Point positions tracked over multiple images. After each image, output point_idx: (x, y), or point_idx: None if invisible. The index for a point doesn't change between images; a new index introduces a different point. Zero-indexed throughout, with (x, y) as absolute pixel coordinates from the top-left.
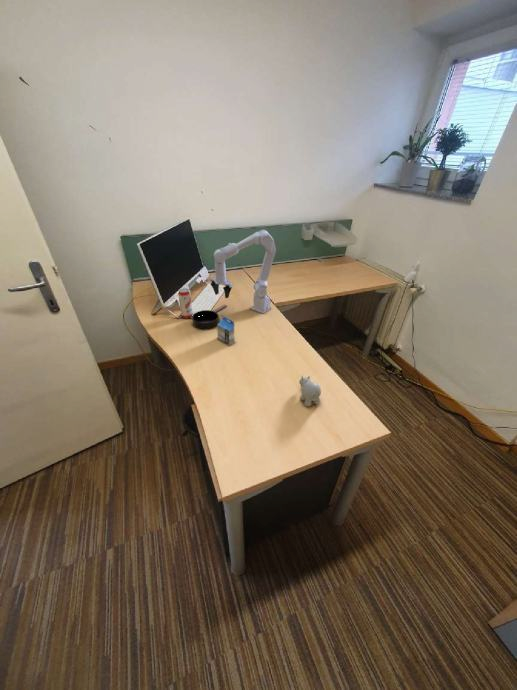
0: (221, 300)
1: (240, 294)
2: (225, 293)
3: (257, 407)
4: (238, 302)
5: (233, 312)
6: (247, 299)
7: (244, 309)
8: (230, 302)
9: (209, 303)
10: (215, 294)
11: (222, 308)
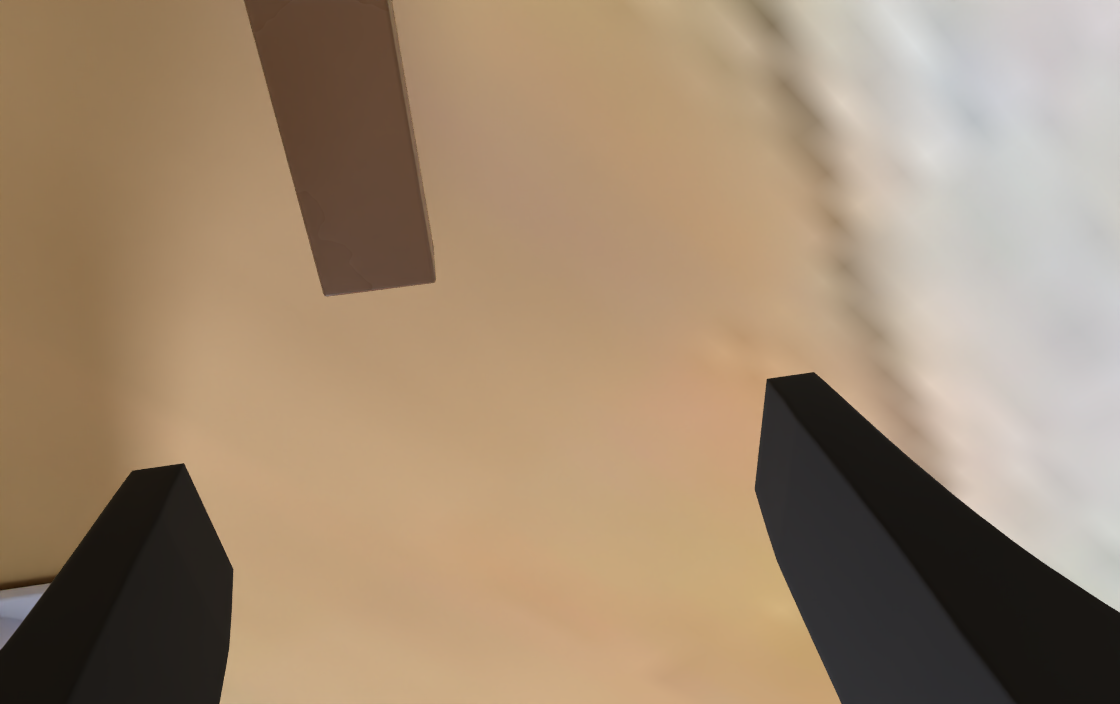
0: None
1: (675, 700)
2: (16, 702)
3: None
4: (489, 563)
5: (179, 265)
6: (453, 692)
7: None
8: (615, 476)
9: (1005, 155)
10: (809, 375)
11: (270, 82)
